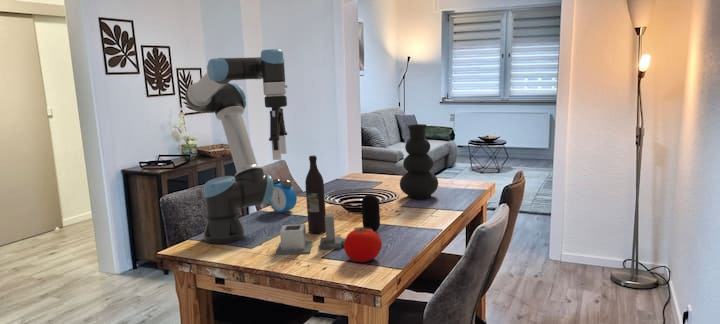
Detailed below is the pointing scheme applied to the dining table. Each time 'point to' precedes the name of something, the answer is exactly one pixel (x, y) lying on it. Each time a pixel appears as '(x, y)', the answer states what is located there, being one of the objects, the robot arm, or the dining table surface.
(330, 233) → the post
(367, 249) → the tomato
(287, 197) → the alarm clock
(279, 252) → the rubber mat
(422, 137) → the vase
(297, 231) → the white block
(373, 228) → the decorative object
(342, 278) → the dining table surface
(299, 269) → the dining table surface
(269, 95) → the robot arm
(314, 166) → the wine bottle
